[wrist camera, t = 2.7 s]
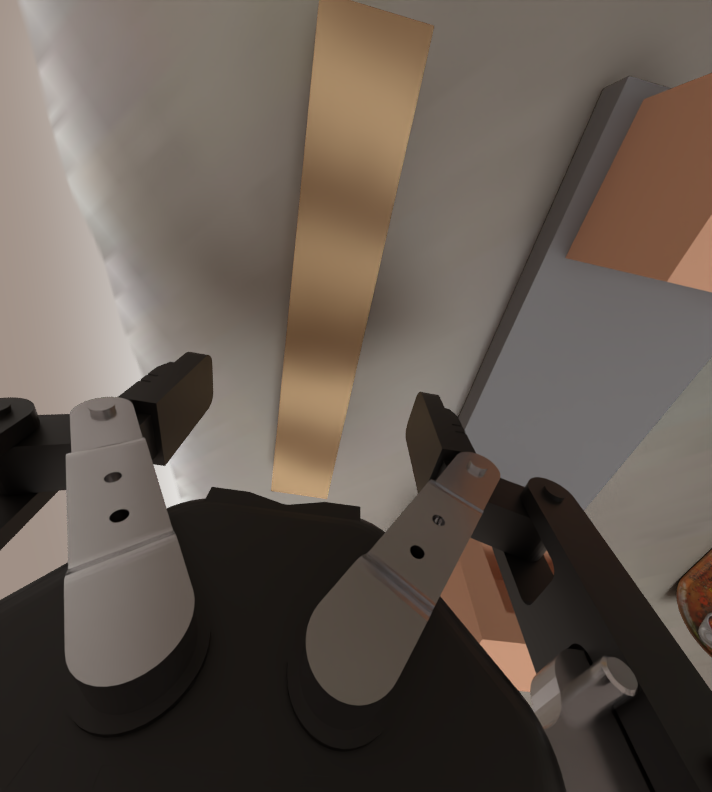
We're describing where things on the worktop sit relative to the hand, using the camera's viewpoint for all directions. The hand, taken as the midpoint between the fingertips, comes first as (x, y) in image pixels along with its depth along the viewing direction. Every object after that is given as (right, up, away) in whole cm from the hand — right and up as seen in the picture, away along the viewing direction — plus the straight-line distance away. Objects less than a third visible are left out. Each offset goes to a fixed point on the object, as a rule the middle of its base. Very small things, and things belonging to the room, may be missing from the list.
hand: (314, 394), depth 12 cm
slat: (0, +5, +7) cm, 8 cm away
